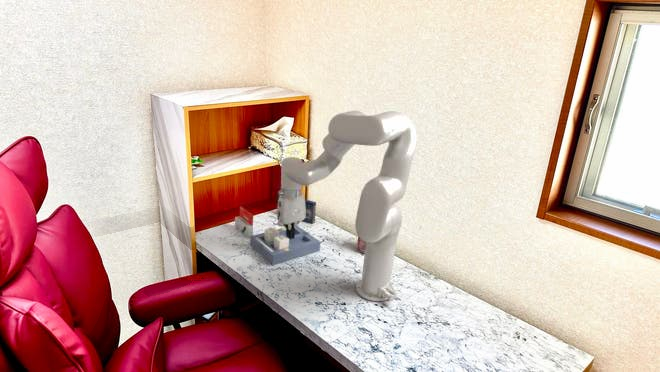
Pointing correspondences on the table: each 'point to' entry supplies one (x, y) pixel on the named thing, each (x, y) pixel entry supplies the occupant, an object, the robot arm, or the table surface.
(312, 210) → the vhs cassette tape
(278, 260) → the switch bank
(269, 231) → the tab
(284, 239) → the tab
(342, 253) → the table surface
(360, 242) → the soda can
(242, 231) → the ink box
